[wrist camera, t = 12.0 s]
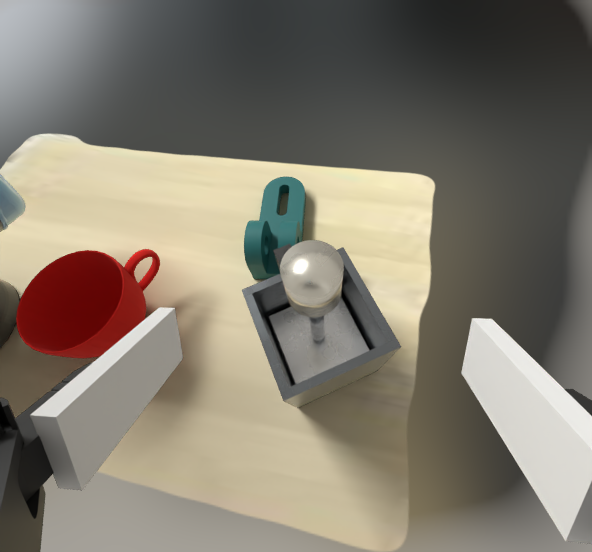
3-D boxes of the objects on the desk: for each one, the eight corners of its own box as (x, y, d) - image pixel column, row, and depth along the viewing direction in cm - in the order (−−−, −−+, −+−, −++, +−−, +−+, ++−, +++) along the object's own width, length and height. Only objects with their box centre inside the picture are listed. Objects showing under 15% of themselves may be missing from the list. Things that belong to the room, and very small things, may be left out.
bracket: (298, 281, 46) (293, 255, 39) (254, 279, 47) (241, 253, 39) (306, 185, 53) (303, 149, 46) (268, 185, 54) (259, 150, 47)
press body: (257, 305, 44) (230, 259, 32) (327, 276, 45) (327, 220, 33) (297, 407, 38) (283, 401, 26) (377, 370, 39) (401, 346, 27)
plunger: (269, 318, 36) (227, 240, 21) (335, 289, 37) (342, 194, 22) (298, 389, 33) (272, 359, 17) (371, 355, 34) (409, 298, 18)
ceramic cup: (203, 303, 45) (172, 274, 36) (103, 388, 41) (41, 379, 32) (156, 250, 50) (119, 213, 41) (63, 322, 46) (-1, 298, 37)
